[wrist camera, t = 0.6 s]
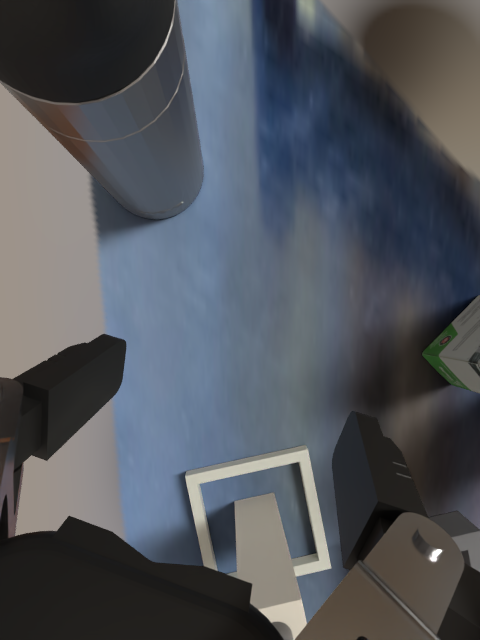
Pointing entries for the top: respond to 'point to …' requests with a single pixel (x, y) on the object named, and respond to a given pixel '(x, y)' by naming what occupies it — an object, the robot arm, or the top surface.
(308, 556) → the square frame
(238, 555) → the plug
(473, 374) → the ink box
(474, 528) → the socket
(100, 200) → the top surface
